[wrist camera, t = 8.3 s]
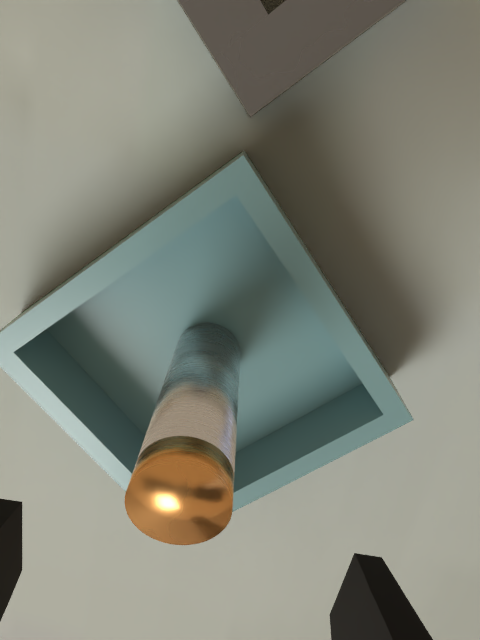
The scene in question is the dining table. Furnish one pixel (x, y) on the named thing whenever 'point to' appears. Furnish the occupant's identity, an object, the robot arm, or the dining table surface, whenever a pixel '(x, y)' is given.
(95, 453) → the tray
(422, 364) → the dining table surface
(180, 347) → the pin
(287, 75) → the pin bracket
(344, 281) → the dining table surface
